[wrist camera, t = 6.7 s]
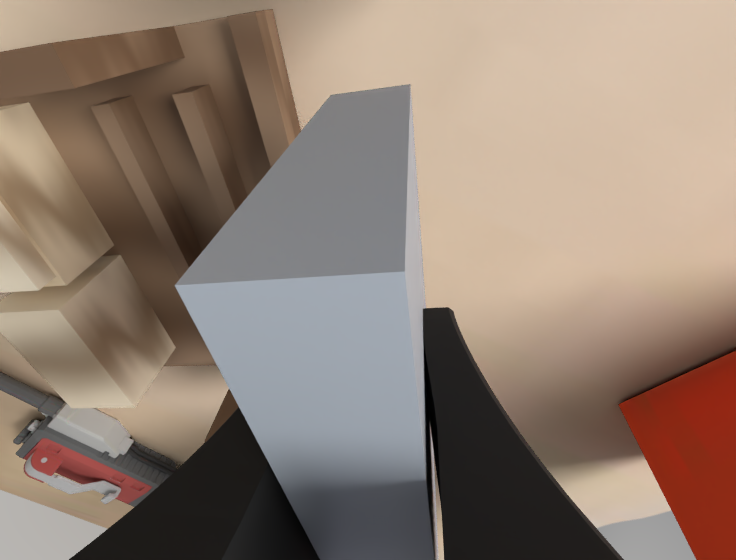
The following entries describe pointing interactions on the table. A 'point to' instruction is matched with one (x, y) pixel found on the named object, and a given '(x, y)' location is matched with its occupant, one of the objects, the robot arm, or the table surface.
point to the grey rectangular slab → (332, 328)
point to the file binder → (694, 452)
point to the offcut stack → (68, 279)
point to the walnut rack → (163, 141)
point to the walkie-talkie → (85, 450)
